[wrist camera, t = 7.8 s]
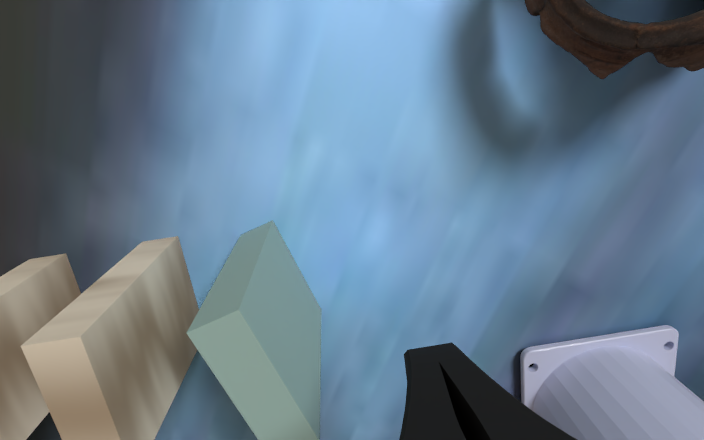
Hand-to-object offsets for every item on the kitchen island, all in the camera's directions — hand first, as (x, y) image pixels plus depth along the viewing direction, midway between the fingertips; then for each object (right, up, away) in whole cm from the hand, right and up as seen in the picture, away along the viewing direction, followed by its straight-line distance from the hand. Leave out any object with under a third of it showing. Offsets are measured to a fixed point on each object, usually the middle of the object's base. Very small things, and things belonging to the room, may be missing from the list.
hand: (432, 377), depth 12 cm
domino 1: (-10, +1, +8) cm, 13 cm away
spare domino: (-5, +2, +8) cm, 10 cm away
